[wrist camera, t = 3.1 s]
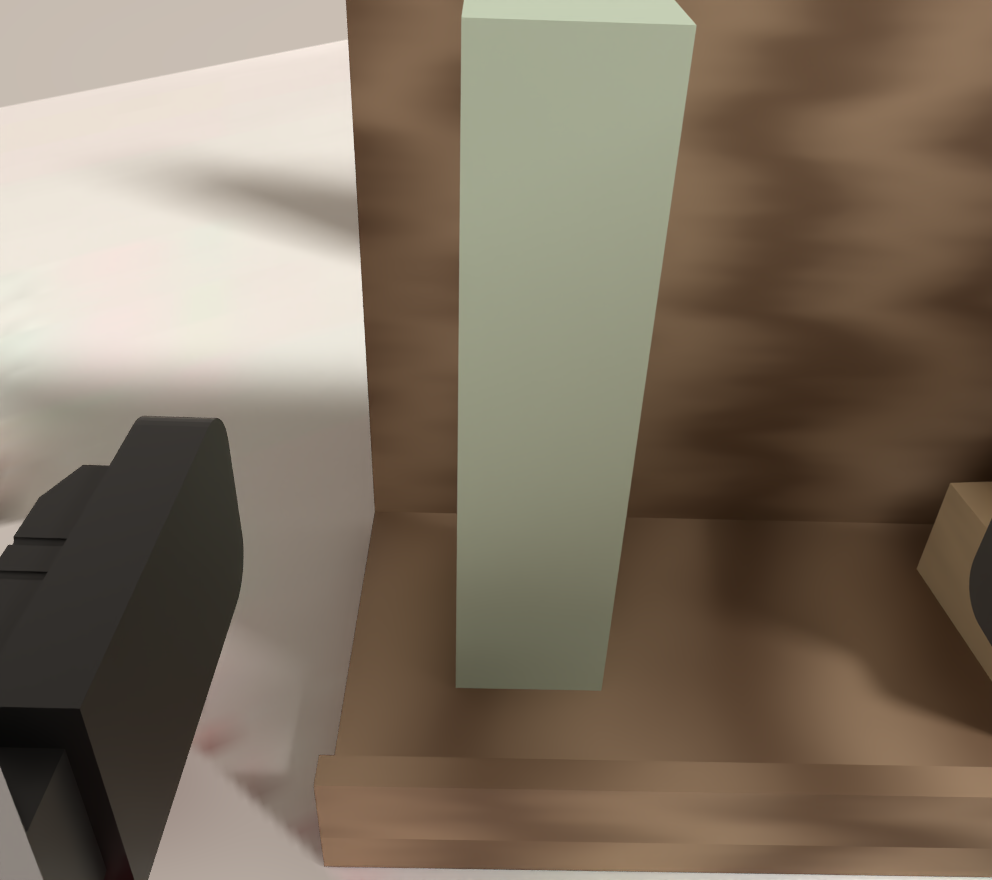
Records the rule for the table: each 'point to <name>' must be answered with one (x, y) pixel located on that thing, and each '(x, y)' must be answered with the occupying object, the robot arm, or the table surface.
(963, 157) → the rack
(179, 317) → the table surface
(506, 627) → the sage green pillar
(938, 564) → the offcut
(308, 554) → the table surface
